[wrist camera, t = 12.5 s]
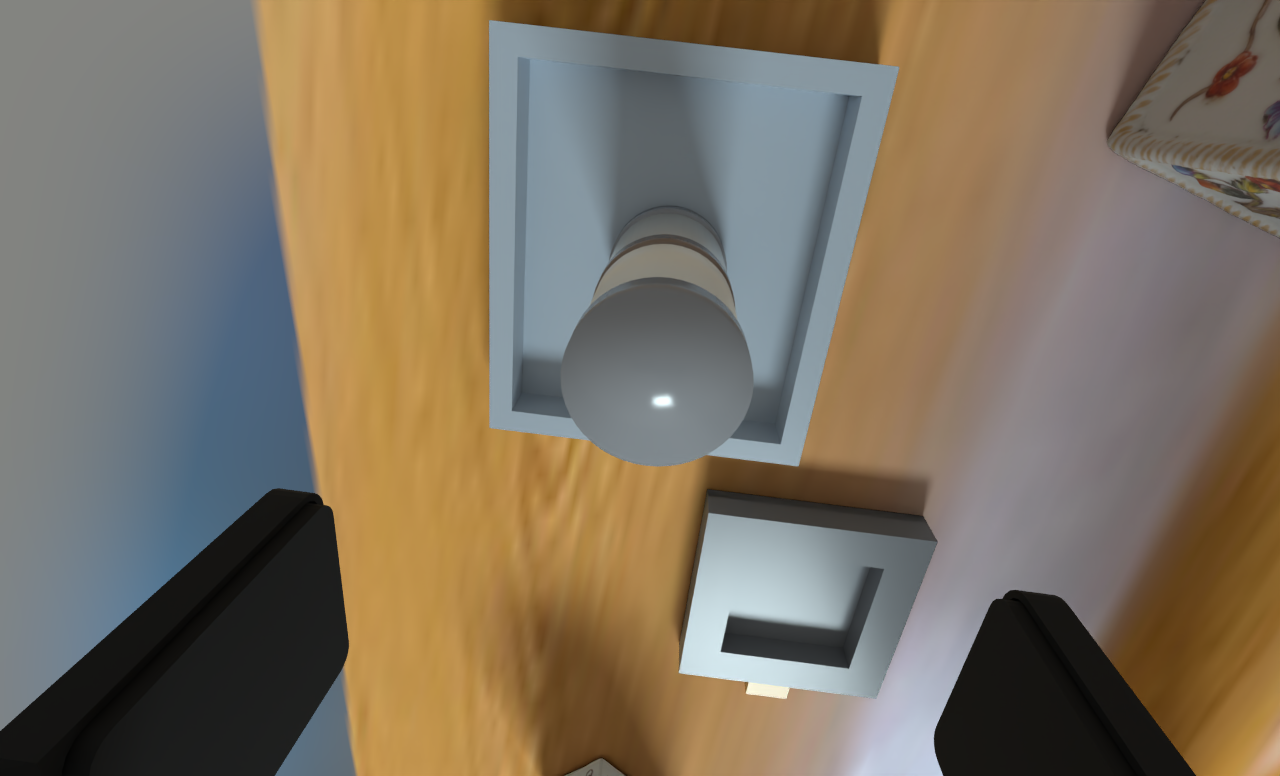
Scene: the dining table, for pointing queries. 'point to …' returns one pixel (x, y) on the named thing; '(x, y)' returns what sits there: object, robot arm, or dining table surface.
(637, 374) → the cylinder
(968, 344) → the dining table surface
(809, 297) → the tray
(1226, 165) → the decorative jar
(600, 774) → the skincare box
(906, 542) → the socket
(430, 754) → the dining table surface
